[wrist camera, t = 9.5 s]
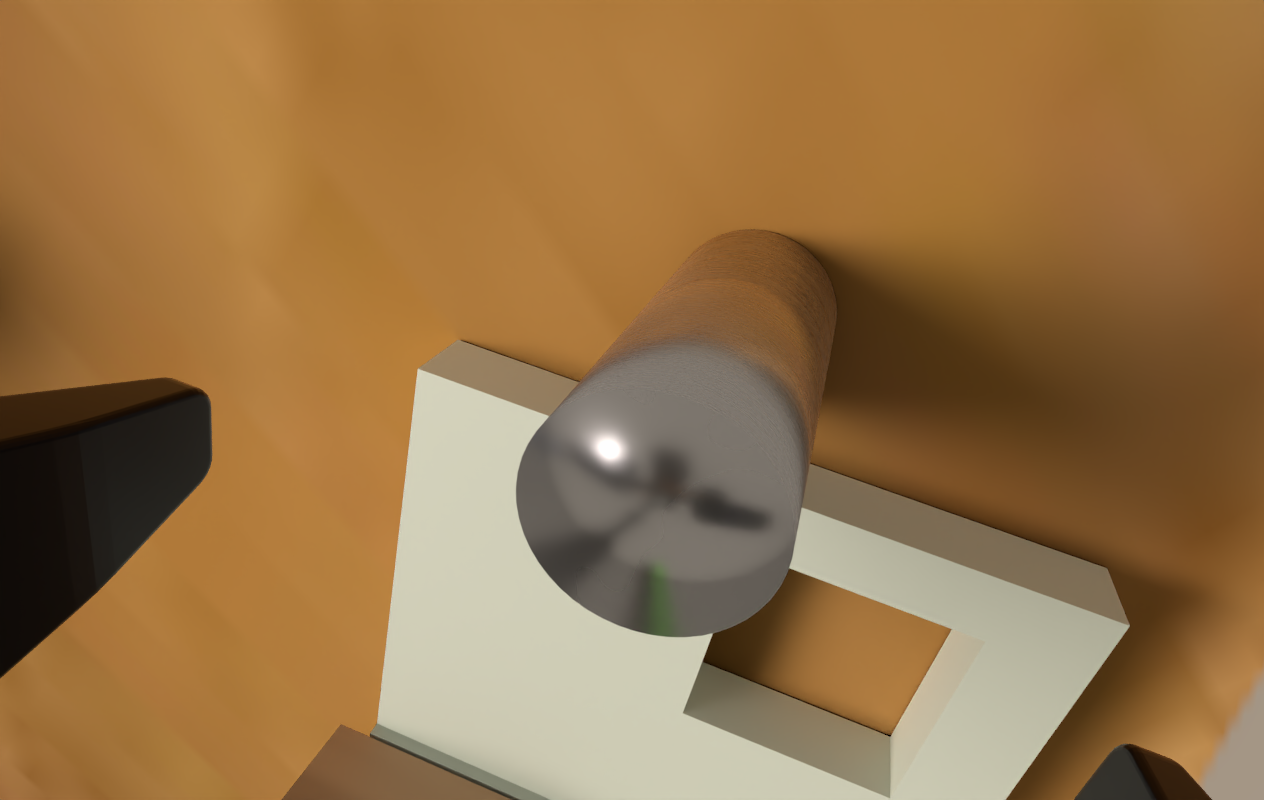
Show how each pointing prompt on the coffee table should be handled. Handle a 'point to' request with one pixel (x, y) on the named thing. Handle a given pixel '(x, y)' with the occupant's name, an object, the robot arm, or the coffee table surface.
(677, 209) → the coffee table surface
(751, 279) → the pin
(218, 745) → the coffee table surface
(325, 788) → the brown wooden block
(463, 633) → the board
